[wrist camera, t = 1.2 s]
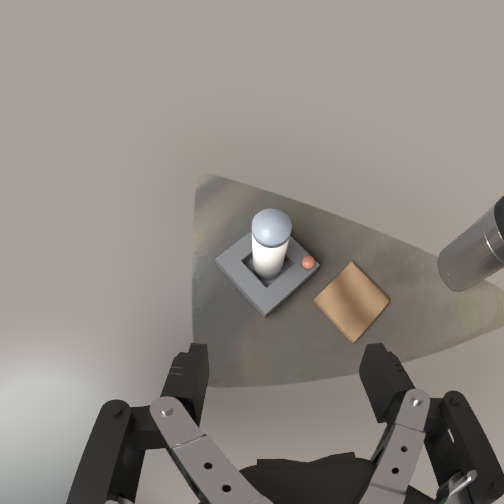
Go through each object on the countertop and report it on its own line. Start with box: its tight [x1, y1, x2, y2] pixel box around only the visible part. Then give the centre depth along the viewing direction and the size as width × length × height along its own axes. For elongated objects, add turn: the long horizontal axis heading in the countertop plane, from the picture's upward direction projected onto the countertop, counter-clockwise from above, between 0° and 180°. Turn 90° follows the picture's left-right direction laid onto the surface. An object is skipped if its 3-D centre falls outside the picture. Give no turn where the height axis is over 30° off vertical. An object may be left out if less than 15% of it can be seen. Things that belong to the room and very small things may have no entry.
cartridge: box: [252, 209, 292, 281], centre depth 37 cm, size 4×4×13 cm
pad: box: [312, 262, 389, 343], centre depth 40 cm, size 9×9×1 cm
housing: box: [215, 231, 320, 318], centre depth 41 cm, size 11×11×4 cm
